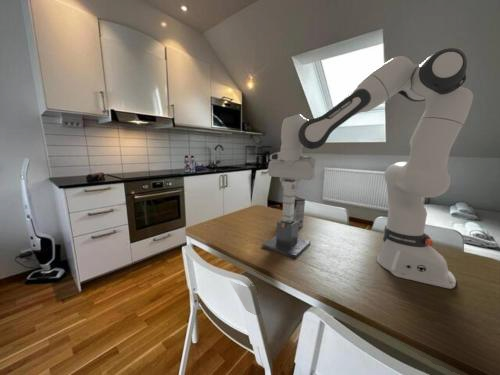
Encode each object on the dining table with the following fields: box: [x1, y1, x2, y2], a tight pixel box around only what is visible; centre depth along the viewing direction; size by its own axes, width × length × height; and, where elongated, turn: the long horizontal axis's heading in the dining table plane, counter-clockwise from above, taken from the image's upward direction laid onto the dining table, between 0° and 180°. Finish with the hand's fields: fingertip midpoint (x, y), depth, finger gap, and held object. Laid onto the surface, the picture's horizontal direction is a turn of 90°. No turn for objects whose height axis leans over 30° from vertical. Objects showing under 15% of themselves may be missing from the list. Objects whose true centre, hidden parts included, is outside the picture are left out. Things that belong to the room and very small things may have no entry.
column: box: [281, 178, 296, 224], centre depth 89 cm, size 4×4×23 cm
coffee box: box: [293, 195, 306, 228], centre depth 118 cm, size 9×6×16 cm
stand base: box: [261, 219, 311, 260], centre depth 92 cm, size 16×16×12 cm
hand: (289, 188), depth 88 cm, fingers closed on column, 4 cm apart
